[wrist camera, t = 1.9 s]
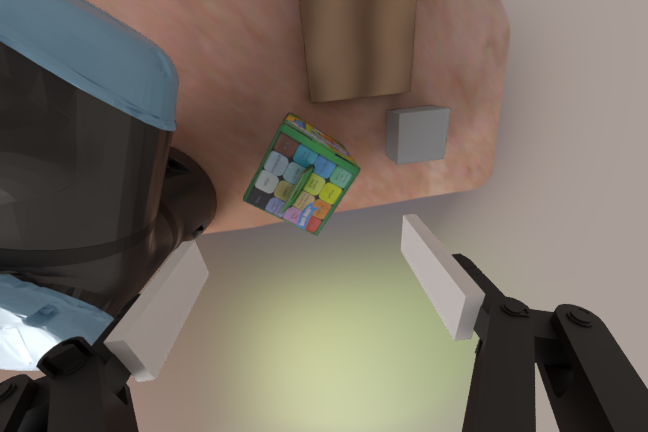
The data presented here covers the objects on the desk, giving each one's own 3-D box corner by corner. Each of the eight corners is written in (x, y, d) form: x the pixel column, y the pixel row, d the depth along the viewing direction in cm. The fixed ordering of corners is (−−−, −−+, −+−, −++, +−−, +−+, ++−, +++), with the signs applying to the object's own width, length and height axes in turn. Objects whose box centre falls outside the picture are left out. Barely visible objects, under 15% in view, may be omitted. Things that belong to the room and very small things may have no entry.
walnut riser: (310, 101, 31) (310, 103, 28) (296, -26, 25) (295, -36, 23) (402, 91, 31) (410, 92, 29) (410, -37, 25) (420, -49, 23)
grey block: (385, 154, 35) (397, 164, 30) (386, 110, 32) (399, 114, 28) (426, 149, 35) (443, 158, 31) (430, 105, 32) (450, 107, 28)
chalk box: (313, 197, 37) (319, 257, 24) (258, 168, 34) (231, 219, 21) (347, 145, 34) (374, 183, 21) (289, 108, 31) (278, 125, 18)
